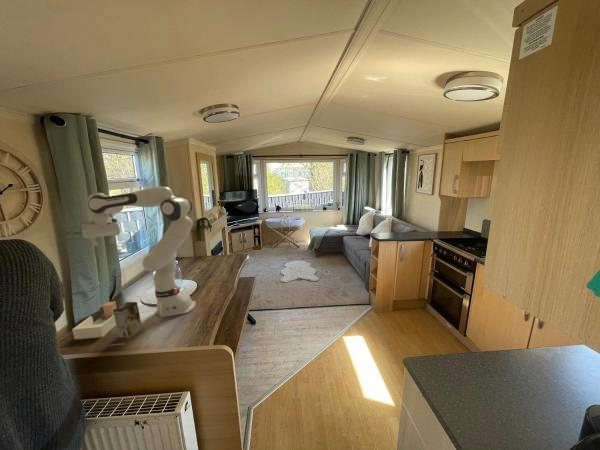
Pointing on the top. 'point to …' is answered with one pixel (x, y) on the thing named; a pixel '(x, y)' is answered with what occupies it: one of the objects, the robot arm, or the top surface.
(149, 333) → the top surface
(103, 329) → the tray
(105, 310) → the terracotta block
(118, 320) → the coffee box
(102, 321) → the panel
